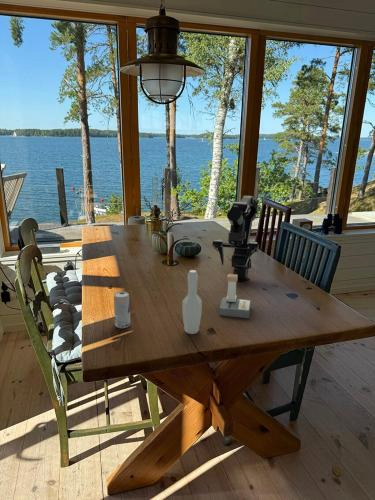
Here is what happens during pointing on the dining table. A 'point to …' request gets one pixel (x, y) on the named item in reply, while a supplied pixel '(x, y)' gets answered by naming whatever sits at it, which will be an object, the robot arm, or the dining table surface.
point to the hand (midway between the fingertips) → (233, 265)
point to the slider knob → (231, 287)
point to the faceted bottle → (192, 305)
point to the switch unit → (235, 308)
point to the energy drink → (122, 309)
